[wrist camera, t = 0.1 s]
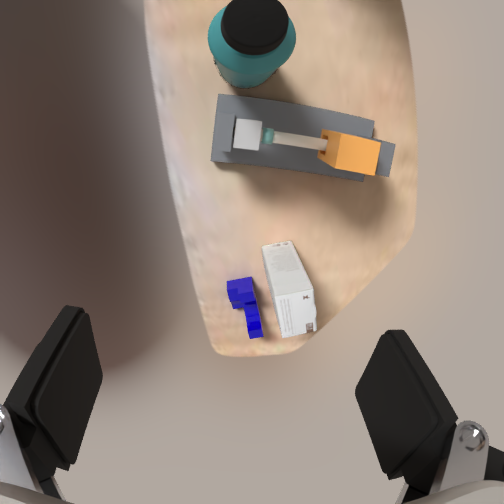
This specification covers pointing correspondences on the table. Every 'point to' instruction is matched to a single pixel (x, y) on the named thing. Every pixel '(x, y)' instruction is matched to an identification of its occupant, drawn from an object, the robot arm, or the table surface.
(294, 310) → the skincare box
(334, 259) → the table surface
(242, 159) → the rail
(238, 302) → the cable holder
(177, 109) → the table surface
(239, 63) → the beverage bottle
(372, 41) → the table surface
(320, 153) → the orange rectangular block
